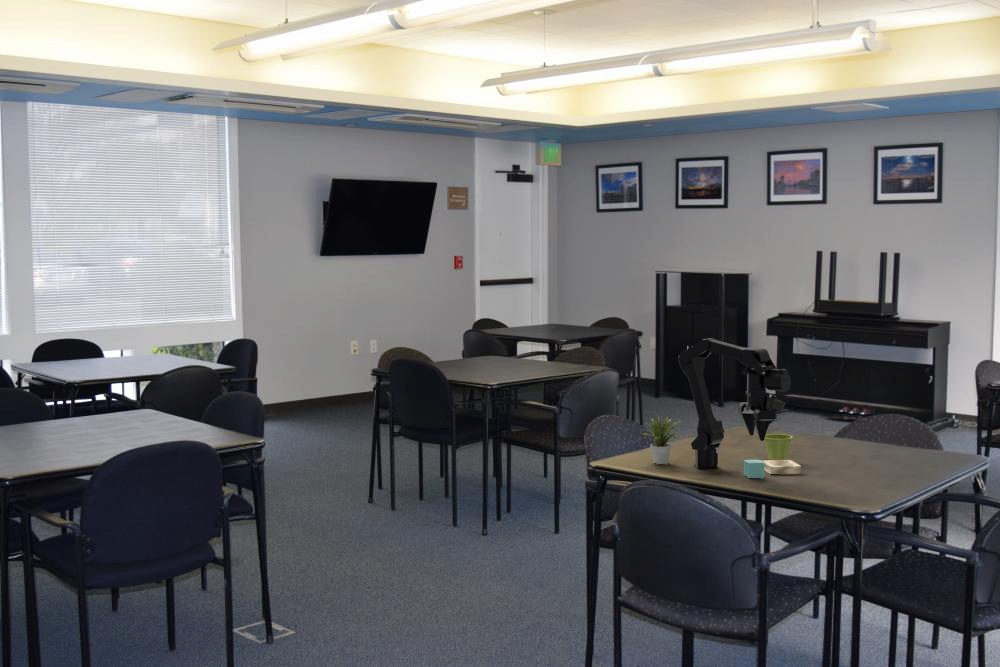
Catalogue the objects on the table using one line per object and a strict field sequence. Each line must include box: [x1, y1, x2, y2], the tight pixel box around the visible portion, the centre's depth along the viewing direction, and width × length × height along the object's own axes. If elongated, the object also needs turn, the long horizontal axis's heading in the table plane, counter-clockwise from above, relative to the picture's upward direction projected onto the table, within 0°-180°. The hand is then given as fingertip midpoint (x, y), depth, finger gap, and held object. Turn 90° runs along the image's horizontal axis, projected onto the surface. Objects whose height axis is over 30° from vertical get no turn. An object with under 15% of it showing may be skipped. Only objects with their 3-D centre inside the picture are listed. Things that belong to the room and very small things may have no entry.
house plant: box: [642, 415, 683, 465], centre depth 338 cm, size 14×14×16 cm
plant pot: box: [764, 433, 793, 460], centre depth 338 cm, size 9×9×9 cm
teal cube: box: [743, 459, 765, 479], centre depth 317 cm, size 5×5×5 cm
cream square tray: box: [761, 459, 802, 475], centre depth 324 cm, size 10×10×3 cm
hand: (756, 438), depth 317 cm, fingers open, 9 cm apart
